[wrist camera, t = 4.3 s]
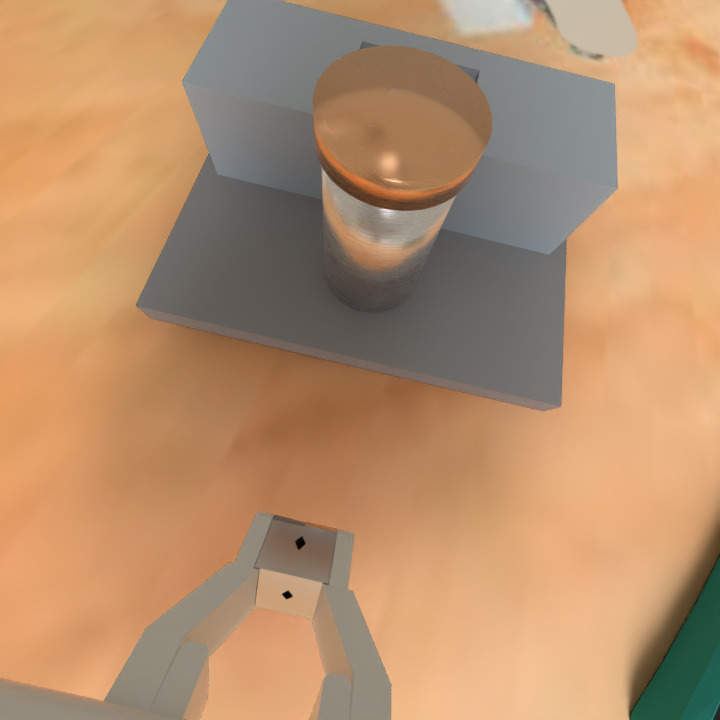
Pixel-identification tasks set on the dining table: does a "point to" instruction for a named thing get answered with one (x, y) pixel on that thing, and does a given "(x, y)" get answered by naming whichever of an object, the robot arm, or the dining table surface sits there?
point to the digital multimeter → (689, 666)
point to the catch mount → (452, 246)
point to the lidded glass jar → (391, 165)
